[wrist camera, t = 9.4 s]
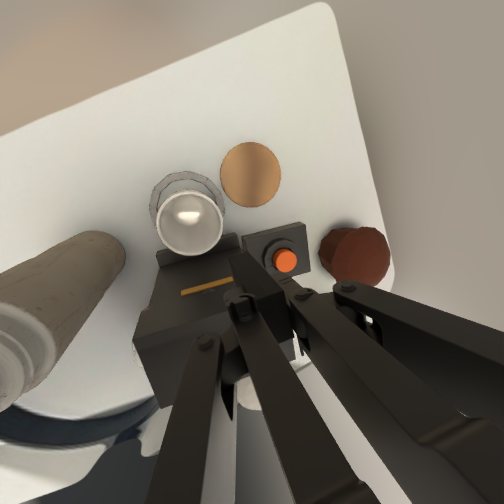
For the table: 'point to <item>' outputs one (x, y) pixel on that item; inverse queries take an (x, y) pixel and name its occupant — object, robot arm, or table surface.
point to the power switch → (279, 247)
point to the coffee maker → (185, 303)
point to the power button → (284, 260)
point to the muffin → (356, 255)
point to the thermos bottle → (50, 306)
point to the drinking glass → (189, 222)
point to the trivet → (250, 174)
